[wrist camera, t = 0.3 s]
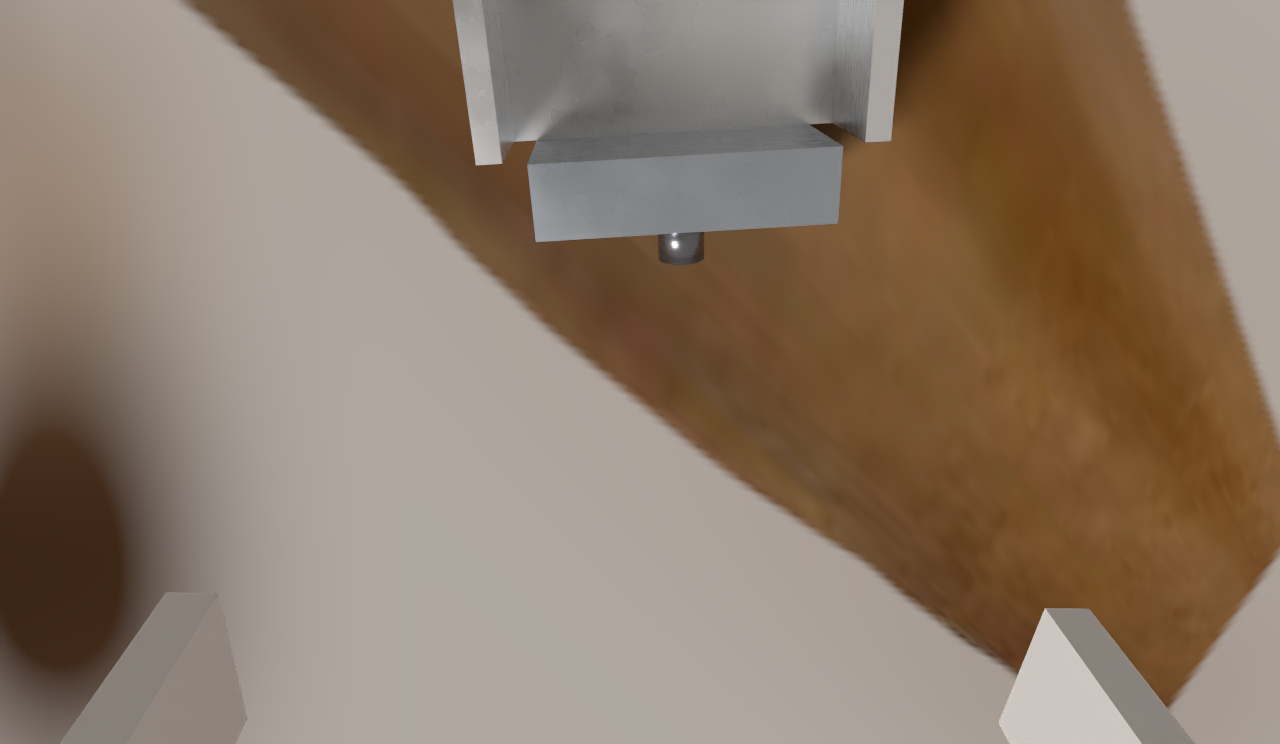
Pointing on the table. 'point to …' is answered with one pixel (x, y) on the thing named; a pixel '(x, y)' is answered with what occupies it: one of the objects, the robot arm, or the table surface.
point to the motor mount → (677, 109)
